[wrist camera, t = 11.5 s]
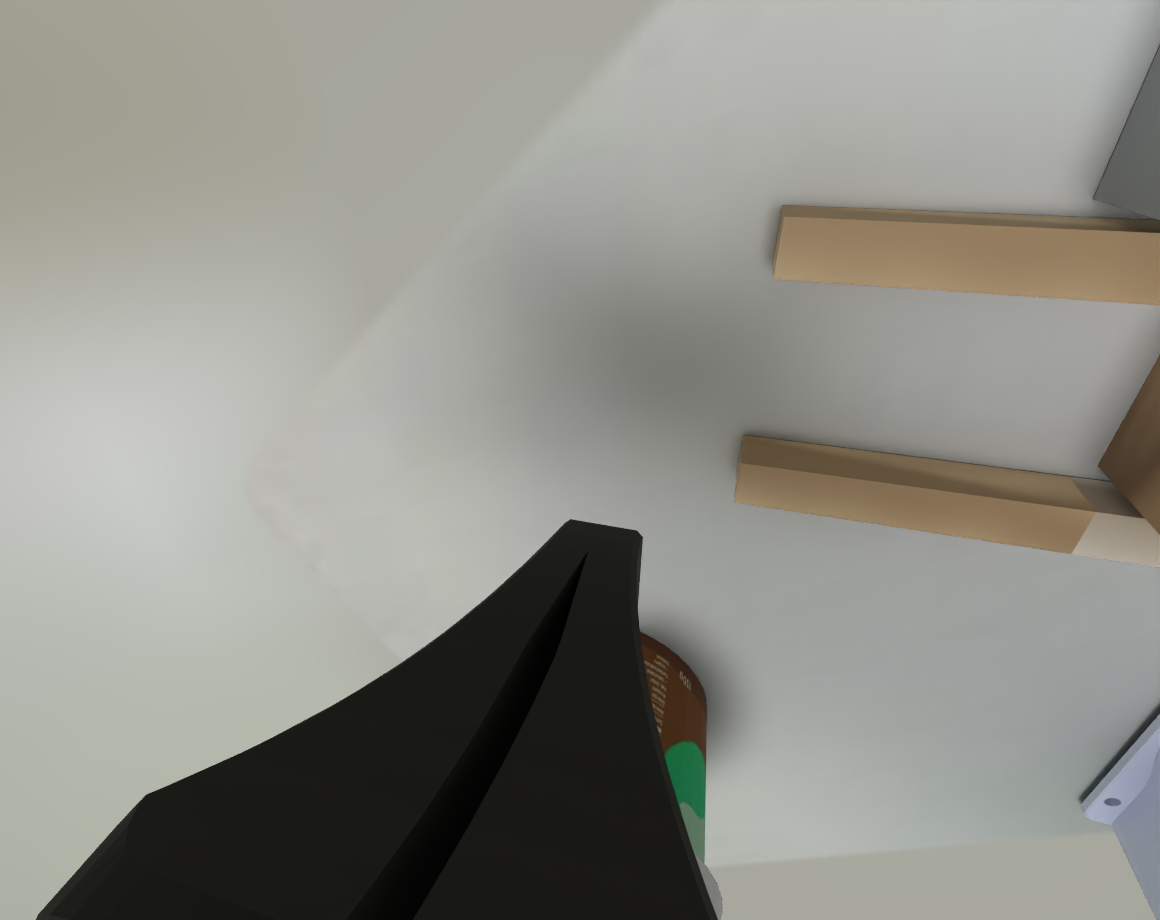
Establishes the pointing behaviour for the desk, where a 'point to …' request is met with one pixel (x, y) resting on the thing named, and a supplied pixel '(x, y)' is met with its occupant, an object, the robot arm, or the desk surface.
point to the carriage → (1139, 451)
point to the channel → (978, 265)
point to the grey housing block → (1137, 155)
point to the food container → (682, 742)
